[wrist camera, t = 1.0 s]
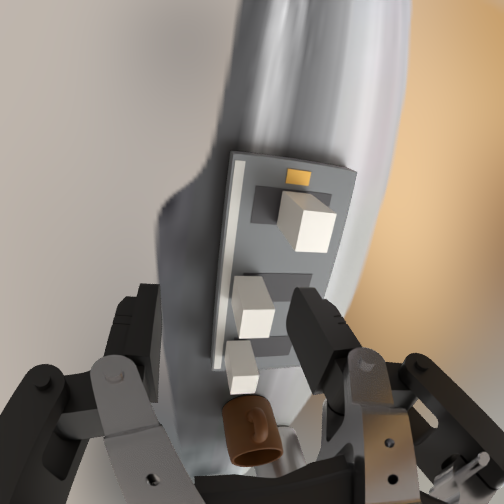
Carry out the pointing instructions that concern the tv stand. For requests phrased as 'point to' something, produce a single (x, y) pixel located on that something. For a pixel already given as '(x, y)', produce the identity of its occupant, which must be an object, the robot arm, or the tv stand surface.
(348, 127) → the tv stand surface
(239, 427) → the mug
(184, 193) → the tv stand surface
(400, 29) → the tv stand surface
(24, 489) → the robot arm
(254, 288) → the block
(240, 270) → the breaker panel
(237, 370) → the breaker
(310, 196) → the block
